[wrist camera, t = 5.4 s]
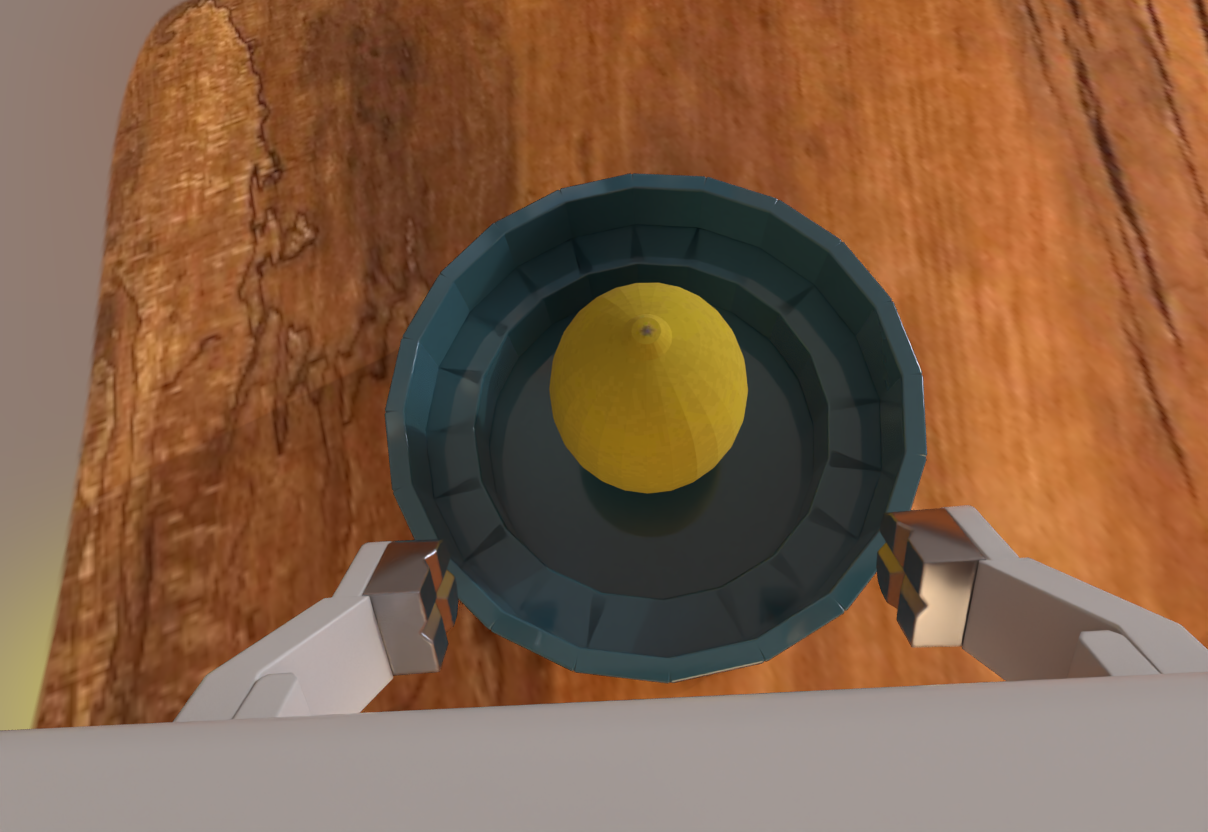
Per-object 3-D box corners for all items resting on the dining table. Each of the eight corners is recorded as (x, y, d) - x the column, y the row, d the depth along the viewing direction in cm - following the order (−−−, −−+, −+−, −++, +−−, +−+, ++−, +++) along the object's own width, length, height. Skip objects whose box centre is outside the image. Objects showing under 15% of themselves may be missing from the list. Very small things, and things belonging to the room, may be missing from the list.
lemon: (581, 530, 22) (543, 465, 14) (558, 376, 24) (513, 248, 16) (748, 500, 22) (798, 420, 14) (711, 348, 24) (738, 207, 16)
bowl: (630, 186, 27) (625, 98, 23) (965, 419, 23) (1036, 366, 18) (348, 460, 24) (281, 419, 19) (675, 788, 20) (680, 826, 15)
